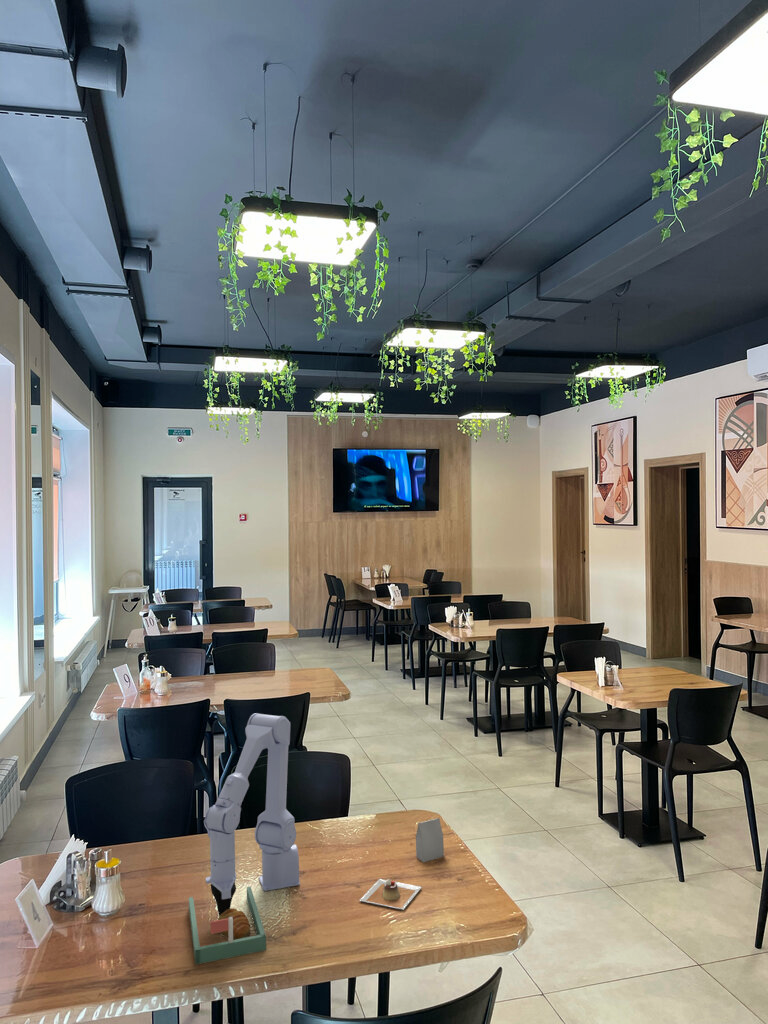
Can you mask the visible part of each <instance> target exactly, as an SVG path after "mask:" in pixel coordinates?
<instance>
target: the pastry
mask: <svg viewBox="0 0 768 1024" xmlns="http://www.w3.org/2000/svg"><path fill="white" fill-rule="evenodd" d="M229 917H233V940H236V939H241V938H246V937H250V936H249V935H250V934H251V931H252V930H251V925H250V922H249V918H248V917H247V915H246V914H245V913H244V912H243V910H238V909H237V908H233V907H230V909H227V910H226V911H225V912H224V913H222V914H221V915H220V916H219V915H218V918H217V920H222V919H227V918H229ZM219 934H220V935H221V934H222V935H221V936H223V935H224V936H223V937H224V938H226V937H227V938H226V939H228V931H223V932H219Z"/></svg>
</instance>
